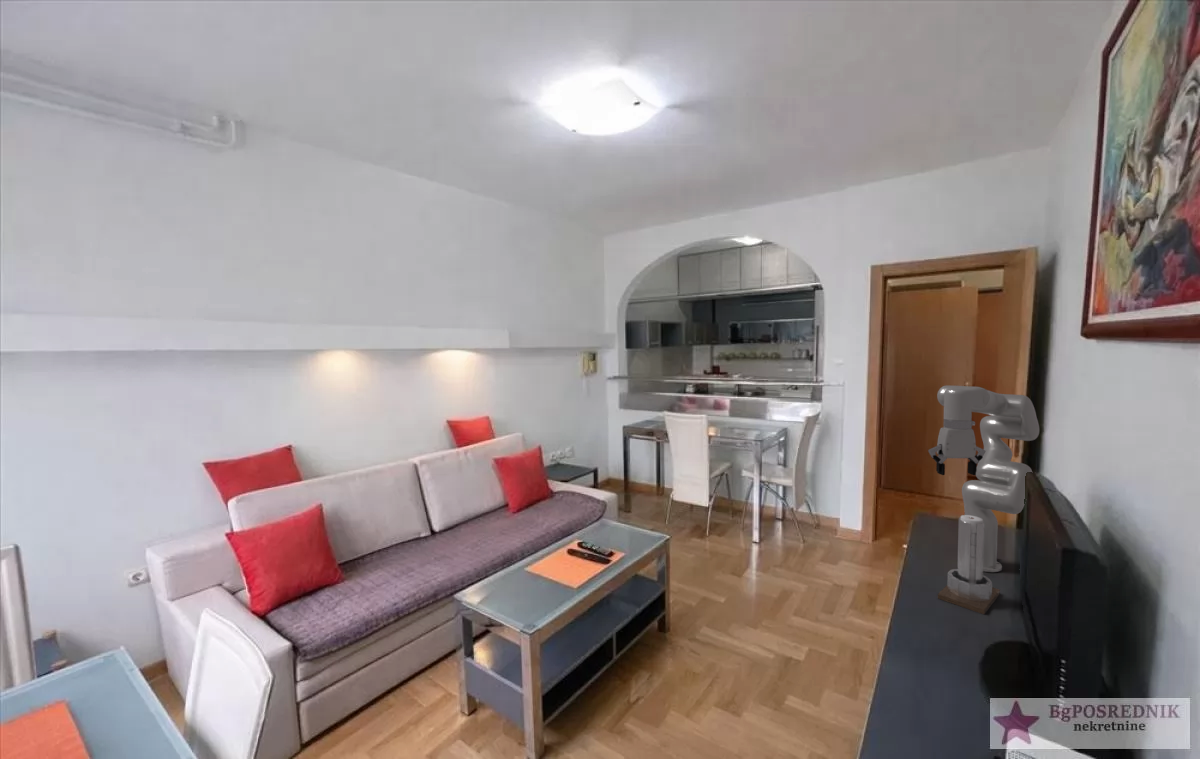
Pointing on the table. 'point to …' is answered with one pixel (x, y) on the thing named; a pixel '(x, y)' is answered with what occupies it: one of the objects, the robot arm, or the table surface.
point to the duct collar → (969, 593)
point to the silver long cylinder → (970, 549)
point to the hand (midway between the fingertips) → (956, 474)
